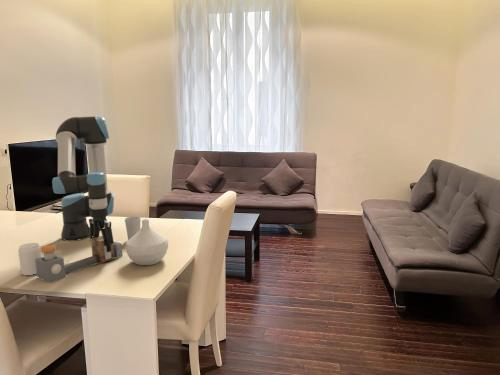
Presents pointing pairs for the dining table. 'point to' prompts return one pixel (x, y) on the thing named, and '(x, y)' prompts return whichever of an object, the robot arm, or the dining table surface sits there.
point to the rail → (92, 259)
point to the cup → (132, 226)
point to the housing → (50, 268)
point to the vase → (146, 246)
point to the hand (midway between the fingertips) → (103, 256)
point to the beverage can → (29, 258)
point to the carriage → (100, 248)
